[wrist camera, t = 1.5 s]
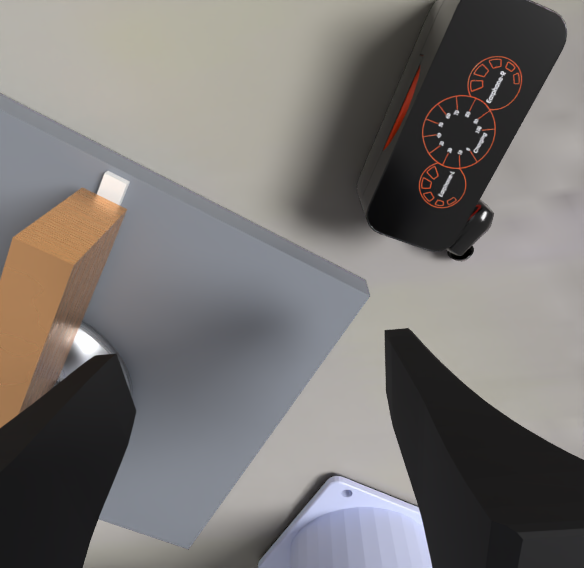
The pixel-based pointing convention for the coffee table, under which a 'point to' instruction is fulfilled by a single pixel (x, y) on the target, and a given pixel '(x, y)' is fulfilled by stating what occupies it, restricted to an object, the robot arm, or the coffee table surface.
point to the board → (182, 319)
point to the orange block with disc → (53, 298)
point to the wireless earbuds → (456, 120)
